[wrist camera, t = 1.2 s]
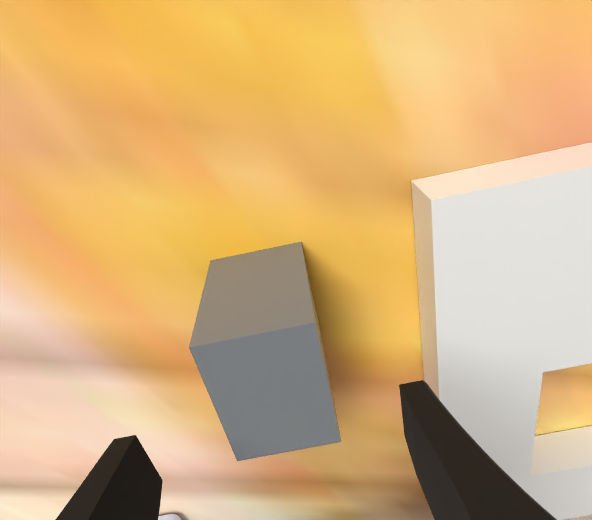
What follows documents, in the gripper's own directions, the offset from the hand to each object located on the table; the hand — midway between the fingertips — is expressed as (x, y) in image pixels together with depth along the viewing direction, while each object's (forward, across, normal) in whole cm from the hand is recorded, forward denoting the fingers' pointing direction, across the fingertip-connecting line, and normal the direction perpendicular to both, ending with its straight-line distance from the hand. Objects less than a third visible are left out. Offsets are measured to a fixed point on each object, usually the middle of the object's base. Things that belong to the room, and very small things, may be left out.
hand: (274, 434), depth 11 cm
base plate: (+6, -13, +6) cm, 16 cm away
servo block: (+6, 0, 0) cm, 6 cm away
